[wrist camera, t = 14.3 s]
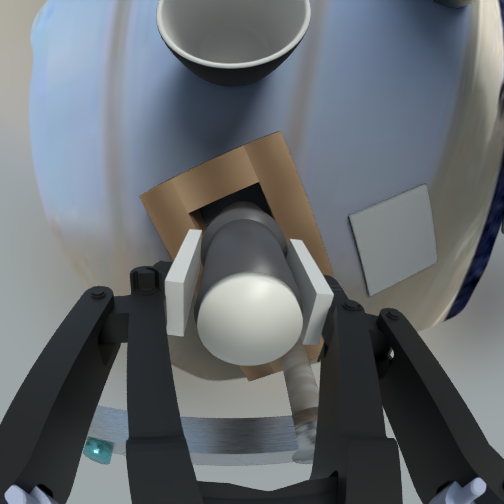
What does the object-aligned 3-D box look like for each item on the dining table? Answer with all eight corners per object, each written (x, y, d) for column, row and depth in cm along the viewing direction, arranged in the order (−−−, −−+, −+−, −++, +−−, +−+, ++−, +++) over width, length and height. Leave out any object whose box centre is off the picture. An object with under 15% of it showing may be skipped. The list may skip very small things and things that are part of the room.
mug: (294, 86, 22) (330, 56, 12) (195, 109, 22) (171, 88, 13) (261, -15, 17) (274, -74, 8) (169, 5, 18) (140, -48, 8)
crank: (339, 403, 17) (355, 450, 13) (328, 429, 18) (340, 471, 14) (90, 398, 16) (73, 441, 12) (106, 424, 17) (93, 464, 13)
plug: (257, 182, 21) (288, 235, 9) (286, 242, 23) (336, 346, 11) (195, 214, 22) (151, 301, 10) (227, 270, 24) (223, 390, 12)
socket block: (273, 132, 23) (317, 122, 11) (341, 321, 31) (387, 410, 19) (152, 188, 24) (79, 236, 12) (247, 357, 32) (255, 455, 20)
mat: (424, 183, 26) (426, 184, 25) (435, 260, 29) (437, 261, 29) (348, 215, 27) (349, 216, 26) (368, 294, 30) (370, 296, 30)
